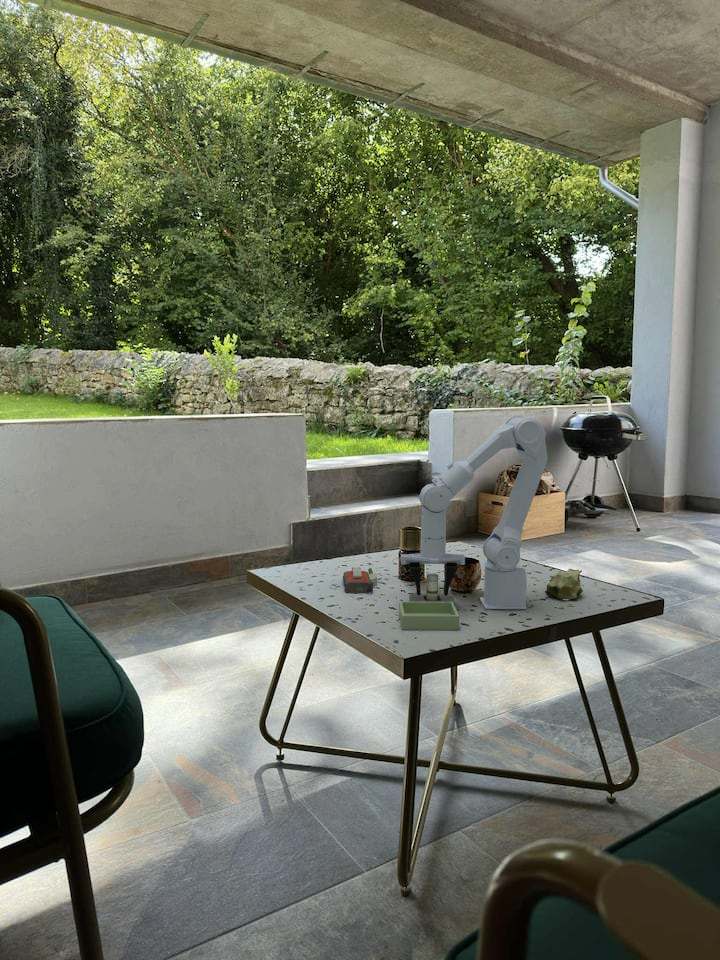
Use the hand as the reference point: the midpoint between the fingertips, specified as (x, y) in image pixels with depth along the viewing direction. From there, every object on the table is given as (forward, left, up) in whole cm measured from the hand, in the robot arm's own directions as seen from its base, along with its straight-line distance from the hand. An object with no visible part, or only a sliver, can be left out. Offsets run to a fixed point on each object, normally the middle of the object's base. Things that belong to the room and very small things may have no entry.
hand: (432, 594), depth 167 cm
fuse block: (0, 0, -3) cm, 3 cm away
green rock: (-33, -8, -3) cm, 34 cm away
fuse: (0, 0, -3) cm, 3 cm away
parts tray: (+2, +11, -3) cm, 12 cm away
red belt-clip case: (+16, -19, -3) cm, 26 cm away
